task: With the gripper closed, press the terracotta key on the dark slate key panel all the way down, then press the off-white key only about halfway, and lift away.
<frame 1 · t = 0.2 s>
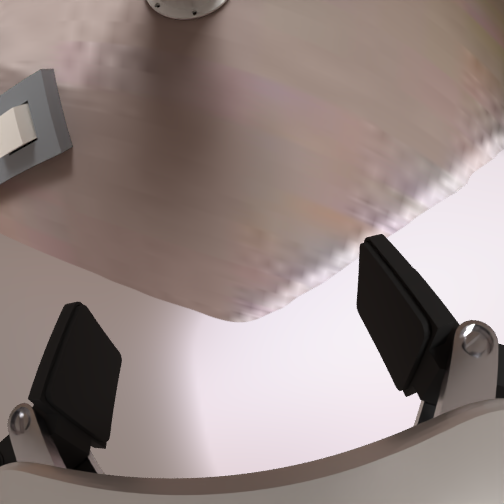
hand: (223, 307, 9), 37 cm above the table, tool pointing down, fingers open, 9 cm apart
off-white key: (13, 130, 29), point 5 cm above the table, slide at 0.0 cm
key panel: (4, 139, 33), on the table
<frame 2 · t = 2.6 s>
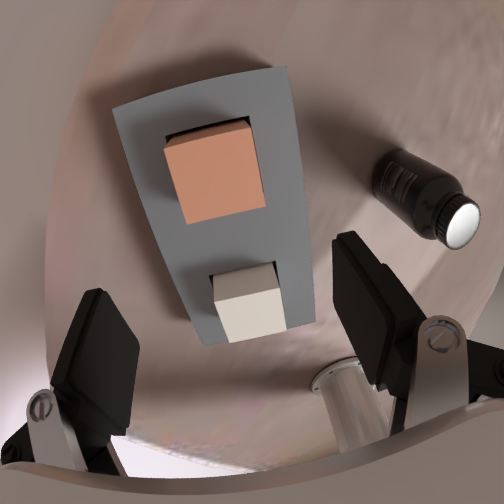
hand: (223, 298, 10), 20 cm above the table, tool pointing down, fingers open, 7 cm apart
off-white key: (249, 300, 30), point 5 cm above the table, slide at 0.0 cm
key panel: (231, 217, 30), on the table
supplement bottle: (393, 176, 30), on the table
terracotta key: (216, 167, 22), point 5 cm above the table, slide at 0.0 cm
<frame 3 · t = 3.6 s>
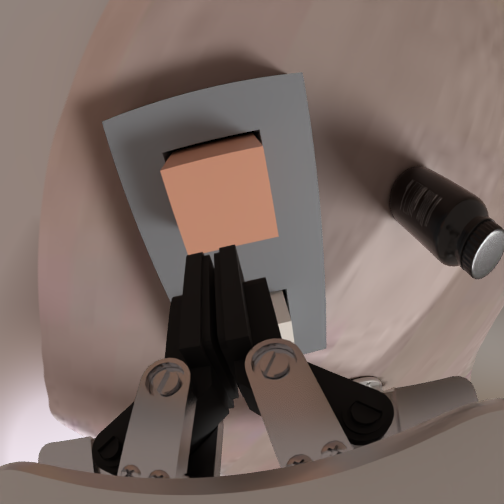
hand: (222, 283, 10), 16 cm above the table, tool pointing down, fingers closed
off-white key: (257, 330, 27), point 5 cm above the table, slide at 0.0 cm
key panel: (237, 240, 27), on the table
supplement bottle: (412, 194, 27), on the table
terracotta key: (221, 190, 19), point 5 cm above the table, slide at 0.0 cm
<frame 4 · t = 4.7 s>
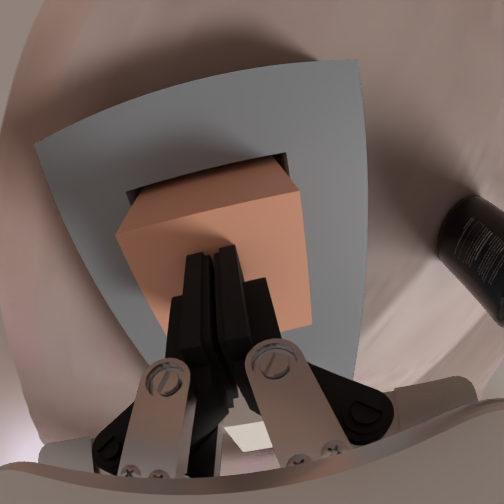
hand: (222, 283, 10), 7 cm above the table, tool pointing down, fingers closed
off-white key: (270, 406, 20), point 5 cm above the table, slide at 0.0 cm
key panel: (244, 297, 20), on the table
supplement bottle: (461, 228, 20), on the table
terracotta key: (222, 250, 12), point 5 cm above the table, slide at 0.4 cm, touching gripper
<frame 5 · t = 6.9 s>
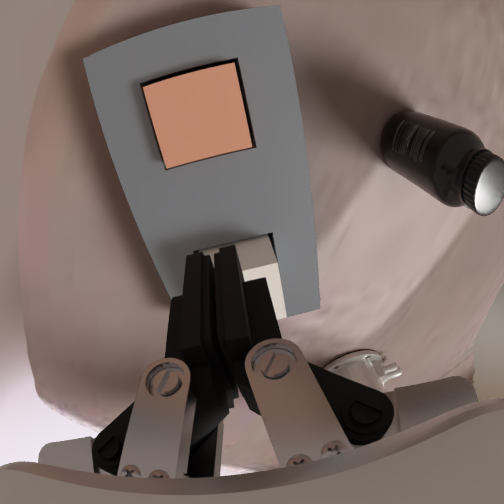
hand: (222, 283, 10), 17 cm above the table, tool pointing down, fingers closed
off-white key: (242, 281, 25), point 5 cm above the table, slide at 0.0 cm
key panel: (220, 184, 25), on the table
supplement bottle: (405, 141, 25), on the table
terracotta key: (199, 111, 19), point 3 cm above the table, slide at 2.5 cm
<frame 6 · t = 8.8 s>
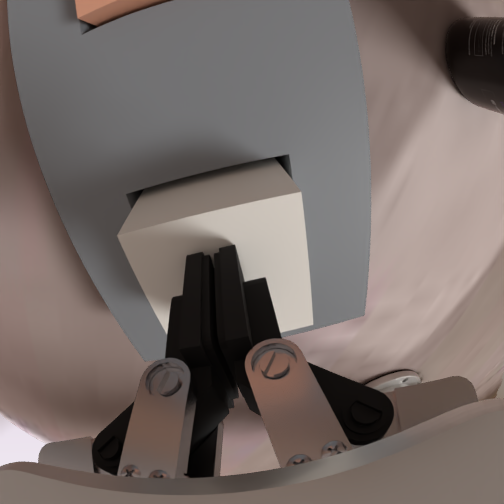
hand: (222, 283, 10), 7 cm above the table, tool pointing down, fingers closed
off-white key: (224, 250, 12), point 5 cm above the table, slide at 0.6 cm, touching gripper
key panel: (191, 85, 12), on the table
supplement bottle: (472, 61, 12), on the table
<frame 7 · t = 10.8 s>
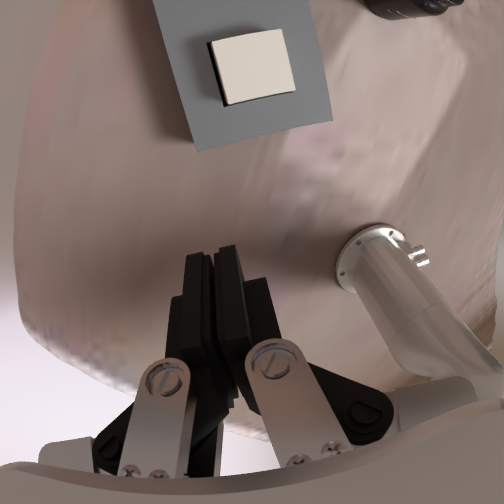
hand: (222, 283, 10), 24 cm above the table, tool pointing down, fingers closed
off-white key: (250, 66, 23), point 4 cm above the table, slide at 1.2 cm
key panel: (230, 11, 22), on the table
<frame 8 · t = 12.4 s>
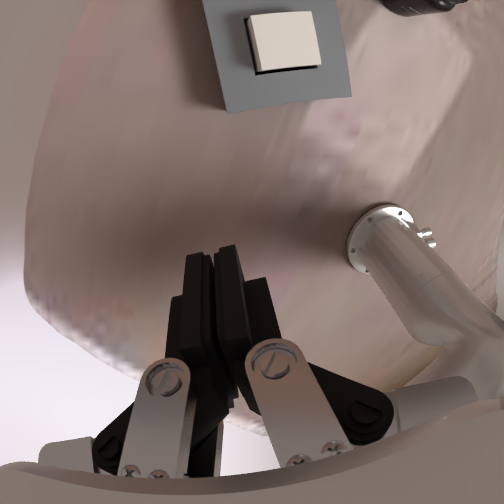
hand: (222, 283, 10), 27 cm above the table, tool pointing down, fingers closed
off-white key: (281, 42, 24), point 4 cm above the table, slide at 1.2 cm
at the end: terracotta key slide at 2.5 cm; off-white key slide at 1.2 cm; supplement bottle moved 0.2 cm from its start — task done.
